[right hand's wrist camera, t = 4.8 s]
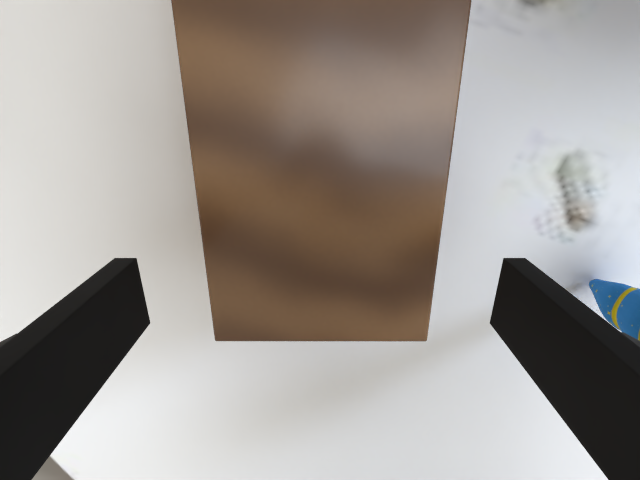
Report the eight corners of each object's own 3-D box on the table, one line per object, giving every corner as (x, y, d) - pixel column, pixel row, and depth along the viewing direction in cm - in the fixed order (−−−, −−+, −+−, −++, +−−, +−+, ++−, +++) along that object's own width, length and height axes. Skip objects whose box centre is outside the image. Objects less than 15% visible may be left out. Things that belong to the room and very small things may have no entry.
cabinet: (225, -50, 20) (147, -175, 11) (417, -50, 20) (495, -175, 11) (249, 263, 27) (214, 341, 18) (391, 263, 27) (427, 341, 18)
